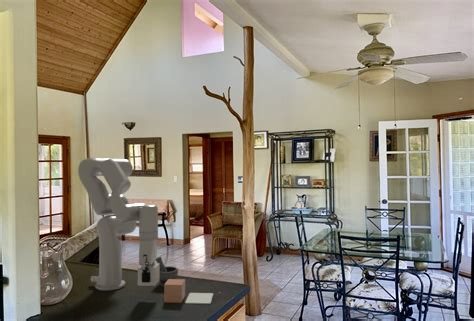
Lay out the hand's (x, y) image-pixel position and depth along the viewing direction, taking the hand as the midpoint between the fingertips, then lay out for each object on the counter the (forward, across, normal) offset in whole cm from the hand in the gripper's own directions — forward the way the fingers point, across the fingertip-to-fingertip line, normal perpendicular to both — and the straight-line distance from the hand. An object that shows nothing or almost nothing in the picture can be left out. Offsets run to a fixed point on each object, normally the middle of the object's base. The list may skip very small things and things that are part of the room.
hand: (148, 278), depth 149 cm
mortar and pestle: (+8, -18, +2) cm, 20 cm away
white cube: (+2, 0, 0) cm, 2 cm away
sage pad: (+8, -1, +20) cm, 22 cm away
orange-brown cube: (+8, 0, +10) cm, 13 cm away
